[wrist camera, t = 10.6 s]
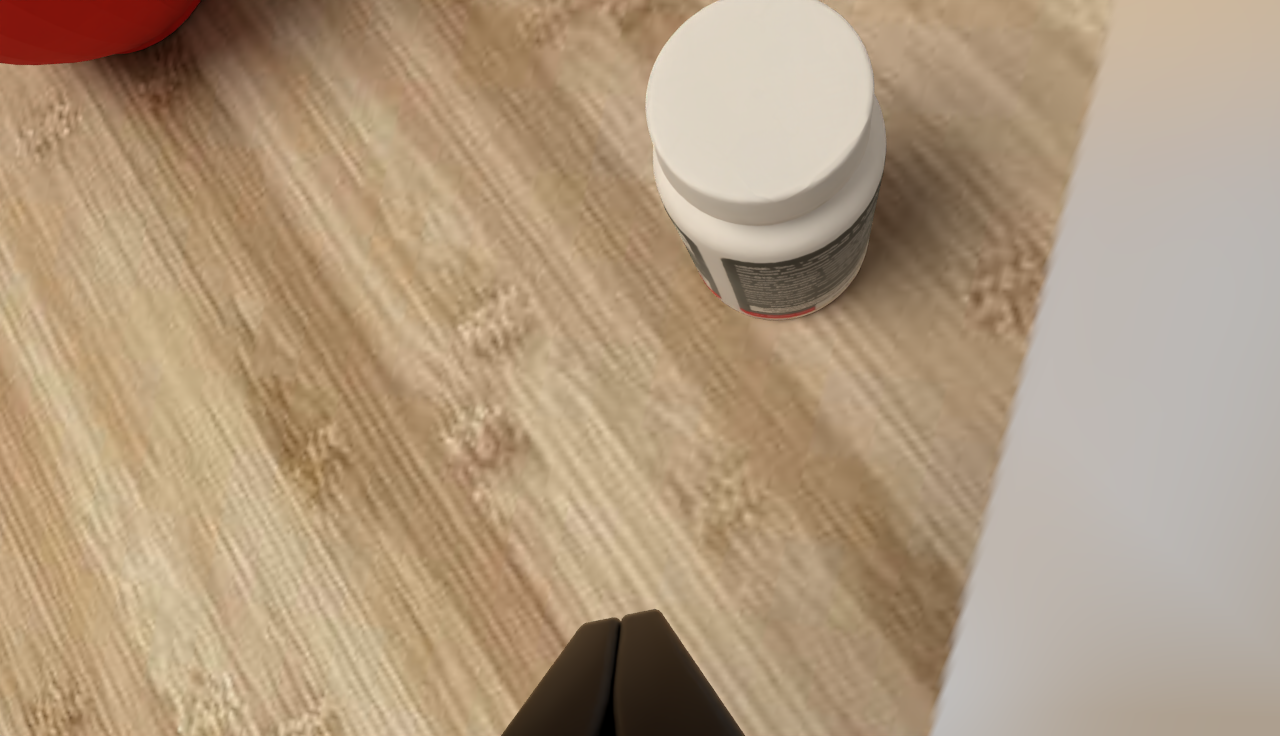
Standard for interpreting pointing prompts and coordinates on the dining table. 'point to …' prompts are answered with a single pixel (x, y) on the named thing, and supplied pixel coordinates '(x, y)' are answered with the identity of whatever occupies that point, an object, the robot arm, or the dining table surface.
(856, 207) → the pill bottle
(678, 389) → the dining table surface
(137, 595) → the dining table surface
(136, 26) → the ceramic cup
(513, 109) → the dining table surface
